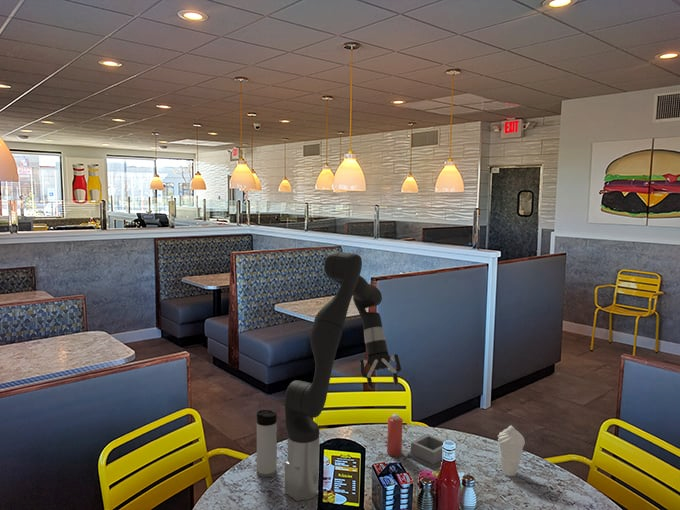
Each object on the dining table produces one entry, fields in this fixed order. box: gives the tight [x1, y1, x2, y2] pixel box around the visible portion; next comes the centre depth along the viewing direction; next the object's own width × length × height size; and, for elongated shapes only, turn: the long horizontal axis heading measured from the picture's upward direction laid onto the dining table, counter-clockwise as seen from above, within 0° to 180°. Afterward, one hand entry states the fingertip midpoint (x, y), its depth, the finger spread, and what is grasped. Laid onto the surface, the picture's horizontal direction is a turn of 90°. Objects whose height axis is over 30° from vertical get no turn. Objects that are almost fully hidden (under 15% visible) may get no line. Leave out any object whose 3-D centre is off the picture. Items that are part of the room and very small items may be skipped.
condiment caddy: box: [406, 433, 445, 470], centre depth 169 cm, size 11×11×5 cm
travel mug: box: [256, 409, 278, 478], centre depth 157 cm, size 6×7×20 cm
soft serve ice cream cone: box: [497, 425, 526, 477], centre depth 159 cm, size 8×8×16 cm
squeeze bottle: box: [386, 413, 404, 457], centre depth 171 cm, size 5×5×14 cm
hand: (383, 386), depth 175 cm, fingers open, 8 cm apart
